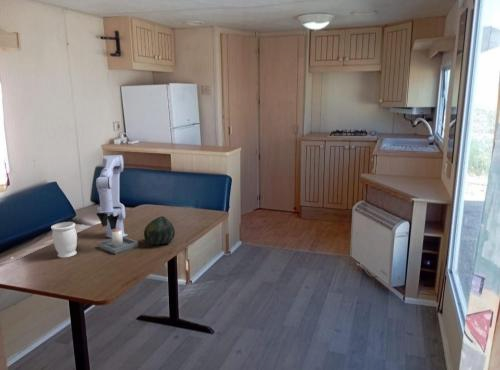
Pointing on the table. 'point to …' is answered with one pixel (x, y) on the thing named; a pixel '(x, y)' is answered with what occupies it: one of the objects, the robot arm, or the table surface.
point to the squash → (159, 231)
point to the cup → (117, 238)
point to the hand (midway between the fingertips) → (109, 227)
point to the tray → (126, 246)
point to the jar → (64, 239)
